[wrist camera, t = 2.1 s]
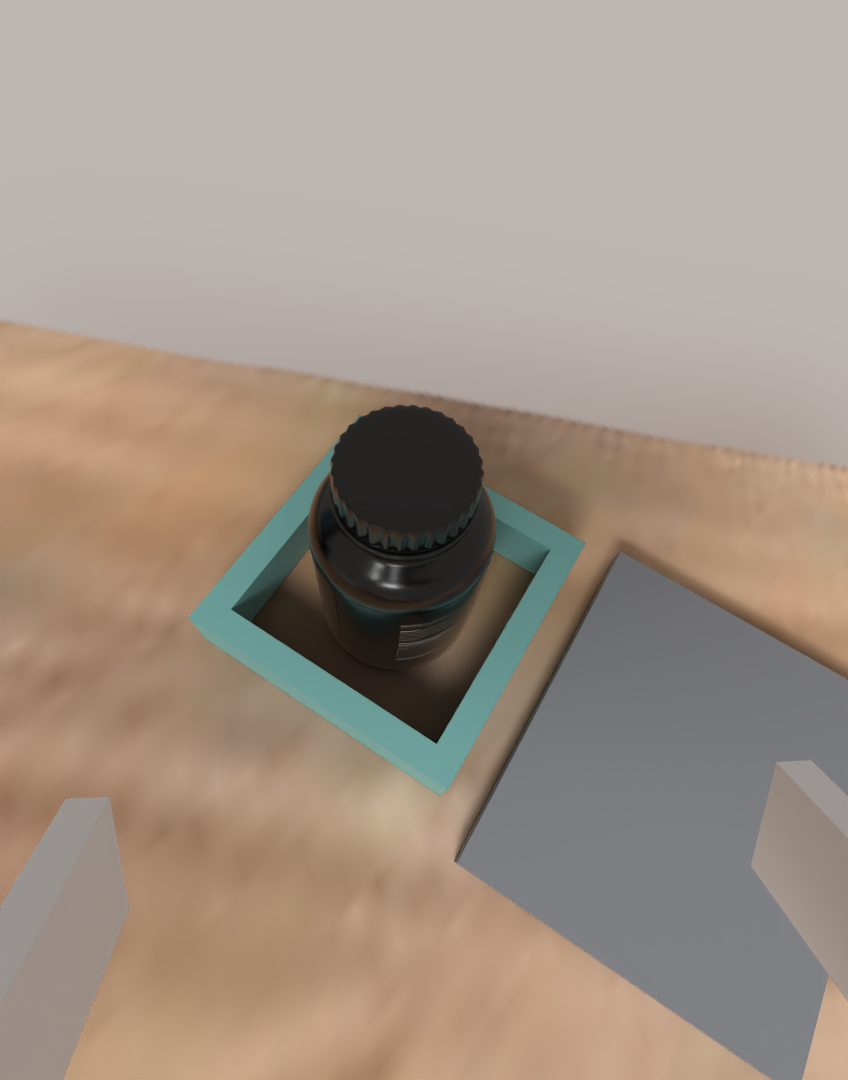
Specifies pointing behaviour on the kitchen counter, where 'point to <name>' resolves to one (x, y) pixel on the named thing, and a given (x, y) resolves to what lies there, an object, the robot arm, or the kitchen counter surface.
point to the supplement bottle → (401, 536)
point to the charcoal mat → (669, 809)
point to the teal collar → (383, 733)
